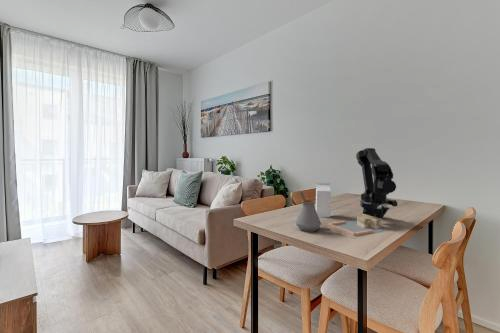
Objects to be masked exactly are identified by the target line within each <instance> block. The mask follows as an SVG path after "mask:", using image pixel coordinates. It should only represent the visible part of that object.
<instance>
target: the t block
mask: <svg viewBox="0 0 500 333" xmlns="http://www.w3.org/2000/svg"><path fill="white" fill-rule="evenodd" d="M356 220H357V226H360V227H363V228H367V227H372V228H375V229H377V228H383V218H382V219H380V218H377V217H373V216H369V215H365V214H363V213H362V214H358V215H357V217H356Z"/></svg>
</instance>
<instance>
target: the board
mask: <svg viewBox="0 0 500 333" xmlns="http://www.w3.org/2000/svg"><path fill="white" fill-rule="evenodd" d="M325 226H327V227H325V228H327V229H328V227H329V228H330V230H331V231H333V230H337V231H338V233H339V234H341V232H342V233H343V235H344V236H346V235H348V237H350V238H352V239H354V237H355V238H357V237H358V238H359V237H363V236H368V235H373V234H378V233H383V232H387V231H389V229H388V228H384V227H382V228H377V229H375V228H372V227H367V228H363V227H360V226H357V219H355V220H349V221H348V220H347V221H346V220H340V221H334V222H328V223H327V224H325ZM331 228H332V229H331ZM339 231H340V232H339ZM344 233H345V234H344ZM349 235H351V236H349ZM352 236H353V237H352Z"/></svg>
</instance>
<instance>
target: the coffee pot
mask: <svg viewBox="0 0 500 333" xmlns="http://www.w3.org/2000/svg"><path fill="white" fill-rule="evenodd" d="M299 195H300V197H301V199H302V200H301V201H300V202H301V203H302V206H301V209H300V211H299V214H298V215H297V218H296V220H295V225H296V226H297V227H298V229H299V230H301V231H304V232H316V231H317V230H318V229H319V228H320V227H321V225H322V222H321V220H320V218H319V217H318V215H317V212H316V200H311V199H309V200H308V199H305V196H304V194H303V192H302V191H300V192H299Z"/></svg>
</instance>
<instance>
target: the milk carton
mask: <svg viewBox="0 0 500 333" xmlns="http://www.w3.org/2000/svg"><path fill="white" fill-rule="evenodd" d="M331 195H332V189H331V182H321V181H319V182H318V181H317V182H316V185H315V201H316V203H315V210H316V212H317V215H318V217H319V219H322V218H330V217H331V201H332V200H331V197H332V196H331Z"/></svg>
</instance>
